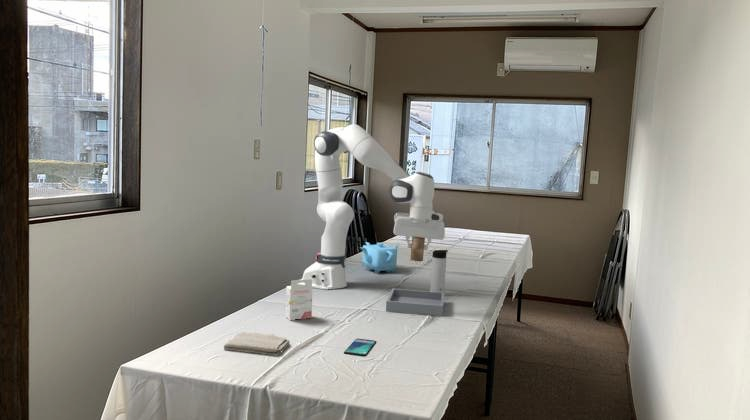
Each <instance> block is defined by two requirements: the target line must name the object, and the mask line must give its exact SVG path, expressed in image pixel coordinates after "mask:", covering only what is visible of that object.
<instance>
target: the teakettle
mask: <svg viewBox="0 0 750 420" xmlns="http://www.w3.org/2000/svg"><path fill="white" fill-rule="evenodd" d="M398 247H400V244H395V245H393V246H389V245H385V244H384V242H376V244H371V243H370V242H367V241H365V245H362V247H361V246H360V247H359V249H361V250H362V257H361V259H362V260H361V266H362V267H364V268H366V271H369V272H371V271H373V273H374V274H380V273H381V272H382V271H385V273H388V274H389V273H392V271H393V270H397V263H398Z"/></svg>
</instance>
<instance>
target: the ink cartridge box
mask: <svg viewBox="0 0 750 420" xmlns="http://www.w3.org/2000/svg"><path fill="white" fill-rule="evenodd" d="M301 282H302V283H305V284H304V285H298V283H301ZM285 290H286V291H285V318H286V317H287V318H288V319H287V318H286V319H287V320H289V321H290V320H292V321H296V320H295V319H302V320H307V319H306V318H311V319H312V317H313V316H312V315H313V313H312V311H313V309H312V308H313V288H312V279H308V280H300V279H296V280H295V279H293V280H291V281H290V285H287V286H286V289H285Z"/></svg>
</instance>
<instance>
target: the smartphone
mask: <svg viewBox="0 0 750 420" xmlns="http://www.w3.org/2000/svg"><path fill="white" fill-rule="evenodd" d="M376 344H377V341H376V340H374V339H366V338H355V339H354V340H353V341H352V343H351V344H349V346H348V347H347V348H346V349H345V351H344V352H343V354H345V355H348V354H349V355H350V356H355V357H367V356H368V354H369V353H370V351H371V350H372V349H373V348H374V347H375V345H376ZM349 355H348V356H349Z"/></svg>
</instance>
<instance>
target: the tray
mask: <svg viewBox="0 0 750 420" xmlns="http://www.w3.org/2000/svg"><path fill="white" fill-rule="evenodd" d="M444 299H445V292H444V293H442V292H430V290H428V291H427V290H419V289H417V290H415V289H405V288H404V289H403V288H394V287H393V288H392V289H391V290H390V293H389V295H388V297H387V299H386V301H385V304H386V305H385V312H389V313H398V314H399V313H401V314H402V313H403V314H412V315H422V316H423V315H424V316H436V317H443V313H444V304H445V303H444V301H445V300H444Z"/></svg>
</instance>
